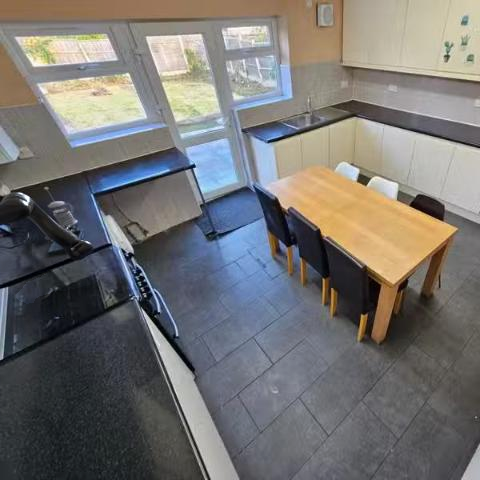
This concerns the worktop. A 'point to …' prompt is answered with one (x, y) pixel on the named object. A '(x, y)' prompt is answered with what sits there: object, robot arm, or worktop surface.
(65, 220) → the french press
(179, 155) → the worktop surface
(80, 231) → the tray
